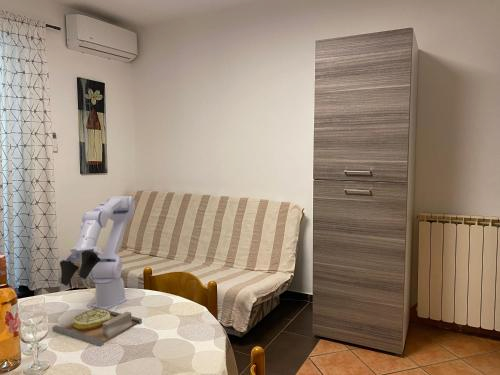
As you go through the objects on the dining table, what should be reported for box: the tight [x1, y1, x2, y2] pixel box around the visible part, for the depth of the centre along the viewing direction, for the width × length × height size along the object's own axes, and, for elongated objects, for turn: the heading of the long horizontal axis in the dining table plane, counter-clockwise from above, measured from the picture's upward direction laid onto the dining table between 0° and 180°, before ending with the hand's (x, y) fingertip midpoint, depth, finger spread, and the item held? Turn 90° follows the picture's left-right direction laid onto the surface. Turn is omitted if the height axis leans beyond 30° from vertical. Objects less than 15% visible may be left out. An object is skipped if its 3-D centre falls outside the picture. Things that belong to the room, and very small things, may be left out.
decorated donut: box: [72, 309, 110, 331], centre depth 116 cm, size 10×11×4 cm
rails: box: [51, 307, 143, 347], centre depth 114 cm, size 16×21×2 cm
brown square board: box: [63, 311, 138, 344], centre depth 114 cm, size 18×13×5 cm
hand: (73, 280), depth 108 cm, fingers open, 7 cm apart
